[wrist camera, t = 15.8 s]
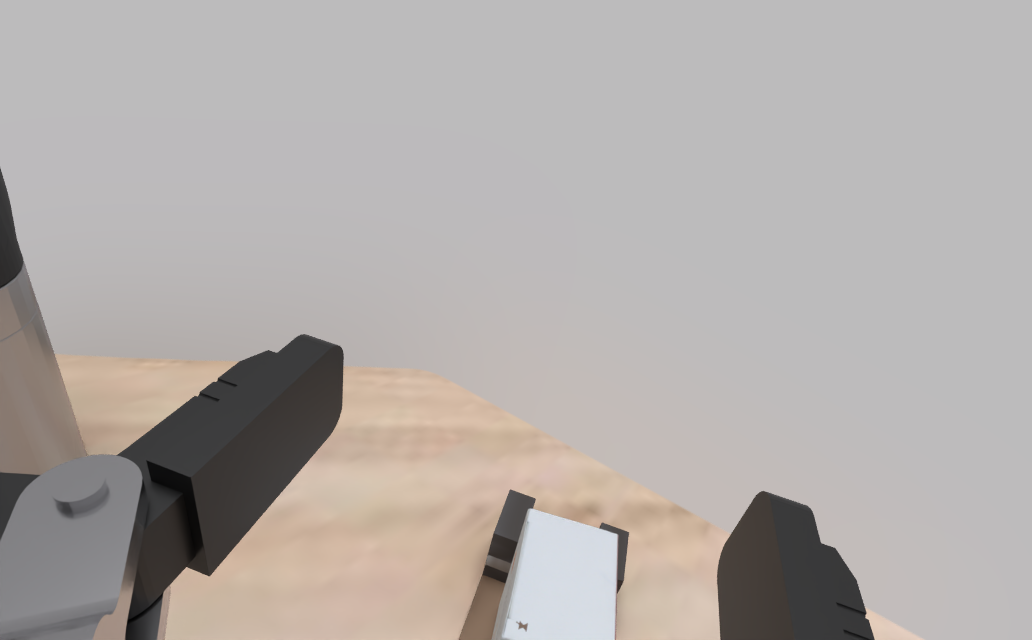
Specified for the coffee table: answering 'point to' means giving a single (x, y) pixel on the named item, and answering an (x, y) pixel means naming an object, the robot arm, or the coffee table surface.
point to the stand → (499, 562)
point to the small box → (560, 582)
